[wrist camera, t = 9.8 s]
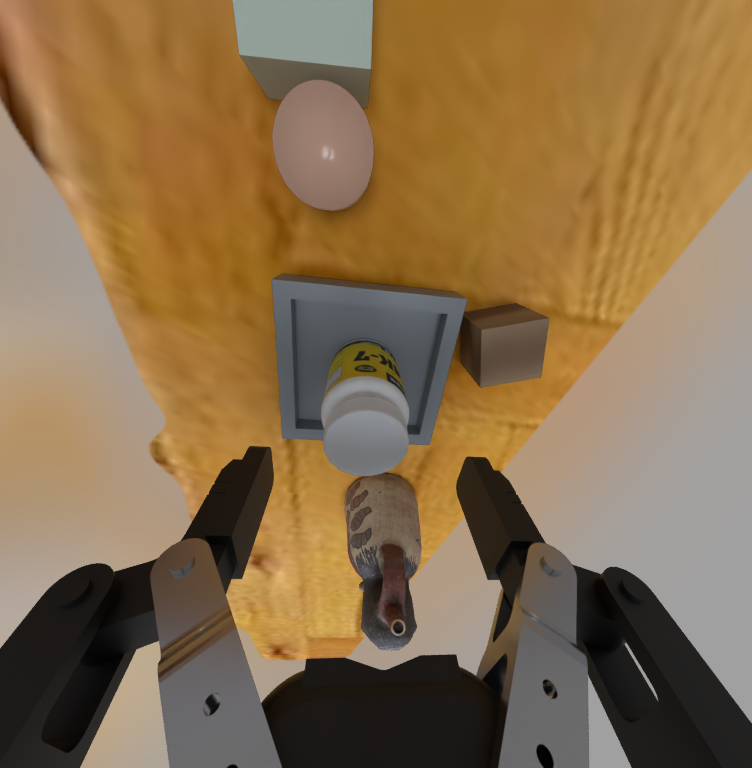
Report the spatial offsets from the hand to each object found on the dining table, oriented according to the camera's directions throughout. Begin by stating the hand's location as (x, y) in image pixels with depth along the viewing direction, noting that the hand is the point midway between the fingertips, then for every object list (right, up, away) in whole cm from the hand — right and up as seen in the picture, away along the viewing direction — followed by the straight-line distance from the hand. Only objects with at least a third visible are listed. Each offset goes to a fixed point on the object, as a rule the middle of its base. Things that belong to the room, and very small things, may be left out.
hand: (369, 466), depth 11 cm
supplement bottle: (-1, +5, +9) cm, 10 cm away
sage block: (-3, +20, +2) cm, 20 cm away
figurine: (+1, -8, +17) cm, 19 cm away
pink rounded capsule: (-2, +15, +4) cm, 16 cm away
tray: (-1, +5, +10) cm, 11 cm away
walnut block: (+9, +7, +9) cm, 15 cm away
